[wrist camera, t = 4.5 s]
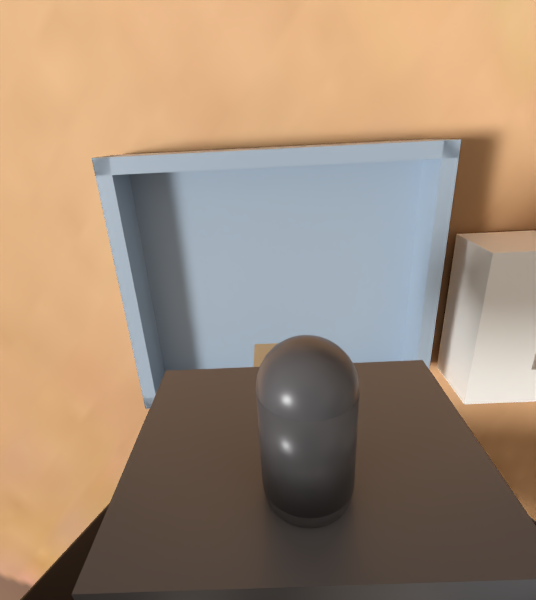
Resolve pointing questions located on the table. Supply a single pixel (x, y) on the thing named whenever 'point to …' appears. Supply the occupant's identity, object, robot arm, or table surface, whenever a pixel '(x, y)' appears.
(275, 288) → the tray
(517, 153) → the table surface
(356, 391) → the grey block with knob
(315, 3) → the table surface
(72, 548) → the robot arm
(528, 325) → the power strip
